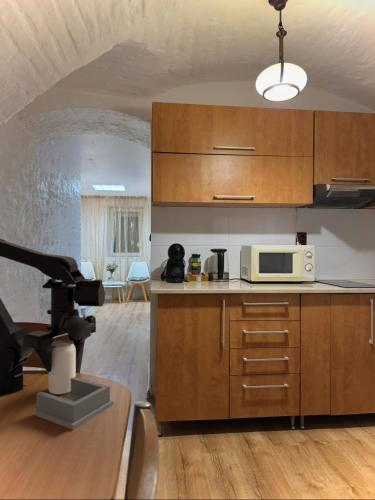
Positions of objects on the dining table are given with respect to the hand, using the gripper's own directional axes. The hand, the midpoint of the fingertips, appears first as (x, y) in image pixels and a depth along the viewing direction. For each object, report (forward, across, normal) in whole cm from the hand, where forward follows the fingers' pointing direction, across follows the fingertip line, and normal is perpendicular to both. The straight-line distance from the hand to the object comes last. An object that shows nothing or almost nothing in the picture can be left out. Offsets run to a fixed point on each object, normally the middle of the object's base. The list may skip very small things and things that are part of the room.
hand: (62, 366), depth 85 cm
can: (+6, 0, 0) cm, 6 cm away
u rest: (+6, -6, -11) cm, 14 cm away
